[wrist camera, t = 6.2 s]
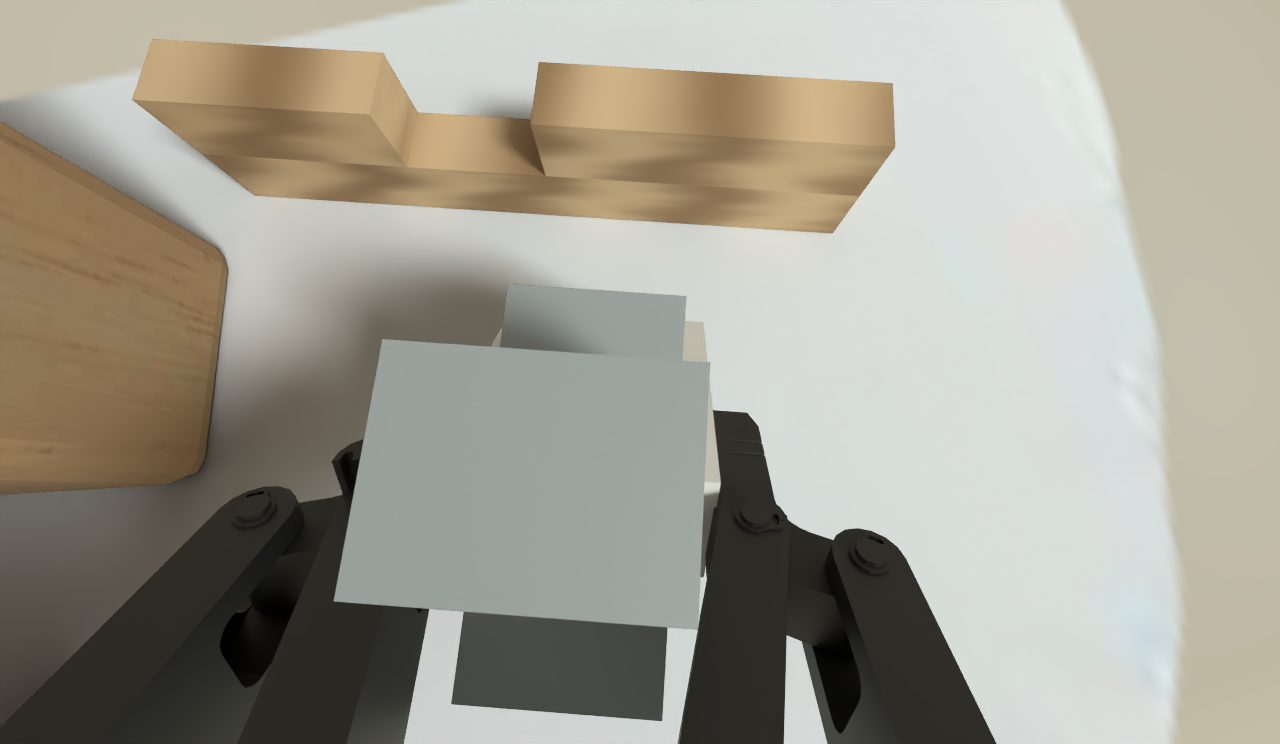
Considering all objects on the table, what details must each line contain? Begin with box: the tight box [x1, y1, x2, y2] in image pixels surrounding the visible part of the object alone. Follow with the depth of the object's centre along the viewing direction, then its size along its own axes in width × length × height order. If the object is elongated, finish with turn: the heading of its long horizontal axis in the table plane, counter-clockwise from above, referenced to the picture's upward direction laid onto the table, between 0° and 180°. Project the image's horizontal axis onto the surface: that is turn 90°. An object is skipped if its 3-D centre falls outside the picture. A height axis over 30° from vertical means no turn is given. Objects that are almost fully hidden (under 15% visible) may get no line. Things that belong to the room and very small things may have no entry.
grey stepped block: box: [334, 284, 710, 721], centre depth 13 cm, size 8×4×14 cm, turn 176°
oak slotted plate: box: [132, 39, 895, 233], centre depth 21 cm, size 26×2×6 cm, turn 86°
